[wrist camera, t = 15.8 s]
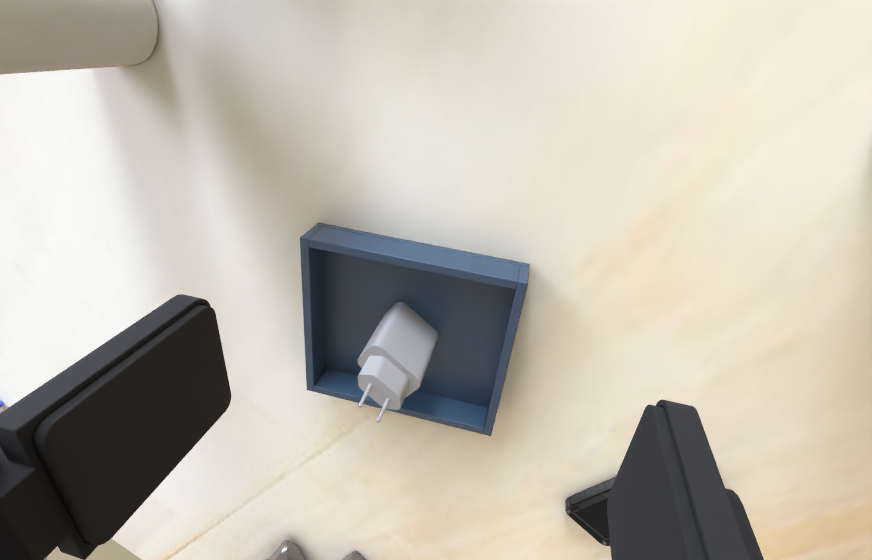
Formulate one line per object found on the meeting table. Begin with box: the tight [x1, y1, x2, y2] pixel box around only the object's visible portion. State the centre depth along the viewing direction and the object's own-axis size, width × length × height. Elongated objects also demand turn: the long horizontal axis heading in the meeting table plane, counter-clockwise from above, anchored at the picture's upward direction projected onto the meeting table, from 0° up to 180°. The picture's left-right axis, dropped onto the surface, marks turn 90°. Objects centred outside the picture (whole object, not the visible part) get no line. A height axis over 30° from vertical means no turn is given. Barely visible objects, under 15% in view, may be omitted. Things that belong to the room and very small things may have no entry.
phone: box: [566, 477, 616, 546], centre depth 48 cm, size 8×1×15 cm
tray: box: [300, 223, 529, 436], centre depth 43 cm, size 20×18×4 cm
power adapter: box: [358, 302, 439, 422], centre depth 39 cm, size 3×5×12 cm, turn 48°
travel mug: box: [0, 0, 158, 74], centre depth 29 cm, size 8×8×18 cm
